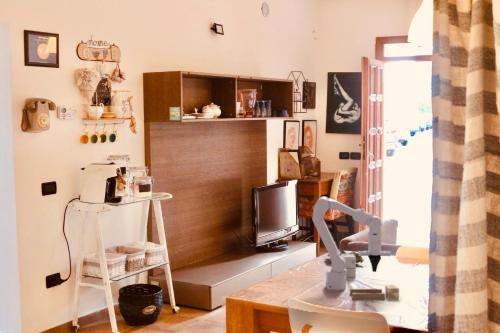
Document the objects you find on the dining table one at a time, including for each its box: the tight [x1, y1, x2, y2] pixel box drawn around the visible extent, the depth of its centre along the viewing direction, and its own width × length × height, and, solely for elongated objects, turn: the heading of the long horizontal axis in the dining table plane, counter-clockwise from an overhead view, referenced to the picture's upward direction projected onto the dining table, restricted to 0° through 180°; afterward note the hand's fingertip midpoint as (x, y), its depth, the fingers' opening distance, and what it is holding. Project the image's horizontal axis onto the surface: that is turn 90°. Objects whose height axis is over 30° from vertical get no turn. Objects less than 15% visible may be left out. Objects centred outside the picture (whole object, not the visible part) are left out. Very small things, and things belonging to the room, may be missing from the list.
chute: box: [349, 288, 404, 301], centre depth 271 cm, size 22×9×3 cm, turn 89°
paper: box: [327, 248, 365, 264], centre depth 338 cm, size 25×16×8 cm, turn 65°
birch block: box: [384, 284, 400, 298], centre depth 271 cm, size 5×5×4 cm
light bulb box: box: [342, 253, 357, 278], centre depth 309 cm, size 11×7×11 cm, turn 92°
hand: (374, 271), depth 282 cm, fingers closed
